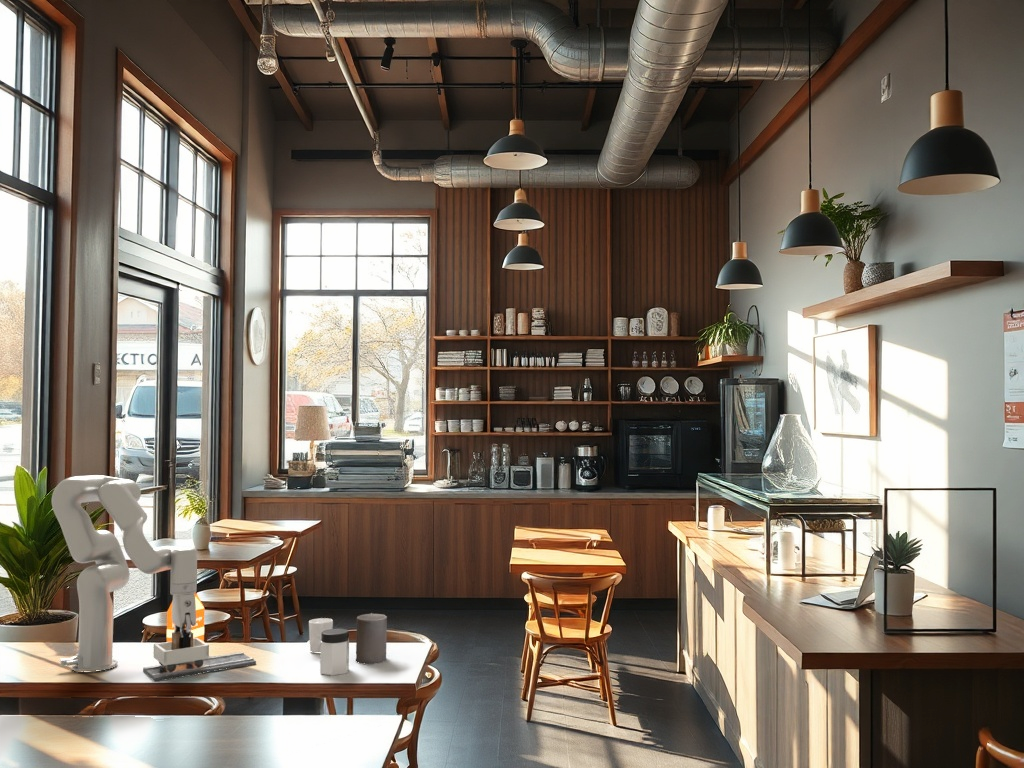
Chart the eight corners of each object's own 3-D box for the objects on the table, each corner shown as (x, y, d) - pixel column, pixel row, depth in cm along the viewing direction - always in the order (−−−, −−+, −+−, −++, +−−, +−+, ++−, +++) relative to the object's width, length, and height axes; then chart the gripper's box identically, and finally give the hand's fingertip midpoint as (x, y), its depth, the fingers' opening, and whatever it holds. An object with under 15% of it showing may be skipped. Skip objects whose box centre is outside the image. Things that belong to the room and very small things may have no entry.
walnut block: (175, 652, 250) (176, 635, 250) (171, 649, 254) (171, 632, 254) (193, 649, 253) (193, 633, 253) (188, 646, 257) (188, 630, 257)
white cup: (319, 655, 271) (319, 624, 271) (303, 651, 275) (303, 621, 276) (337, 650, 277) (337, 620, 278) (322, 647, 282) (322, 617, 282)
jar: (345, 675, 247) (346, 634, 248) (318, 676, 247) (318, 635, 247) (350, 667, 256) (350, 628, 257) (324, 667, 255) (324, 628, 256)
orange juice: (187, 658, 268) (188, 595, 269) (165, 655, 271) (167, 593, 272) (204, 652, 275) (205, 591, 276) (183, 650, 278) (184, 589, 280)
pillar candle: (349, 661, 263) (350, 613, 264) (370, 654, 271) (371, 608, 272) (372, 666, 257) (372, 617, 258) (393, 659, 266) (393, 611, 266)
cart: (163, 673, 244) (164, 651, 245) (153, 665, 254) (153, 644, 254) (208, 666, 252) (209, 645, 253) (196, 658, 262) (197, 637, 262)
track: (154, 681, 242) (154, 676, 242) (143, 671, 253) (143, 666, 253) (255, 664, 260) (255, 659, 260) (240, 655, 271) (240, 651, 271)
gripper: (204, 590, 250) (203, 652, 249) (188, 583, 264) (186, 641, 263) (178, 593, 246) (177, 656, 245) (163, 585, 259) (161, 645, 258)
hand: (182, 647), depth 254 cm, fingers closed on walnut block, 4 cm apart
